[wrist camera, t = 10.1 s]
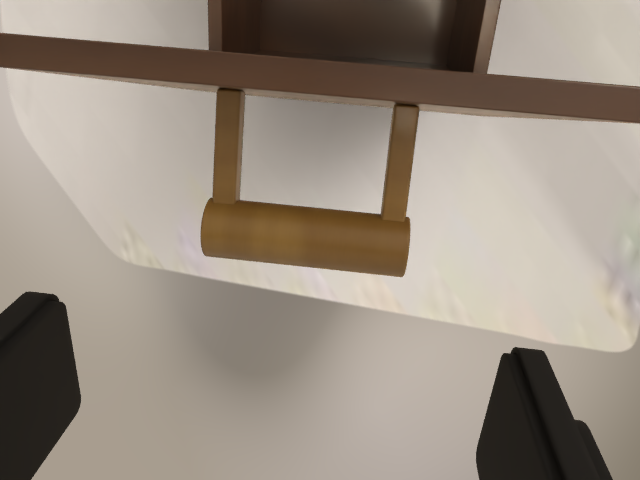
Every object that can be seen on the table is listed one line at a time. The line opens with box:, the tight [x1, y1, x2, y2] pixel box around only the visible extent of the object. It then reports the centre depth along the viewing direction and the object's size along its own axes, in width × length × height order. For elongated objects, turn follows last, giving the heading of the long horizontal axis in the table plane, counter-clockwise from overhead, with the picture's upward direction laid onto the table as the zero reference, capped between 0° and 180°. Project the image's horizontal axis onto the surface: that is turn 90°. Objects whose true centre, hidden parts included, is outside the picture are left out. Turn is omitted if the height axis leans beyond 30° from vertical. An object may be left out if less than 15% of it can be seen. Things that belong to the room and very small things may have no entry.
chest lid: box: [0, 33, 640, 277], centre depth 22 cm, size 18×16×6 cm
